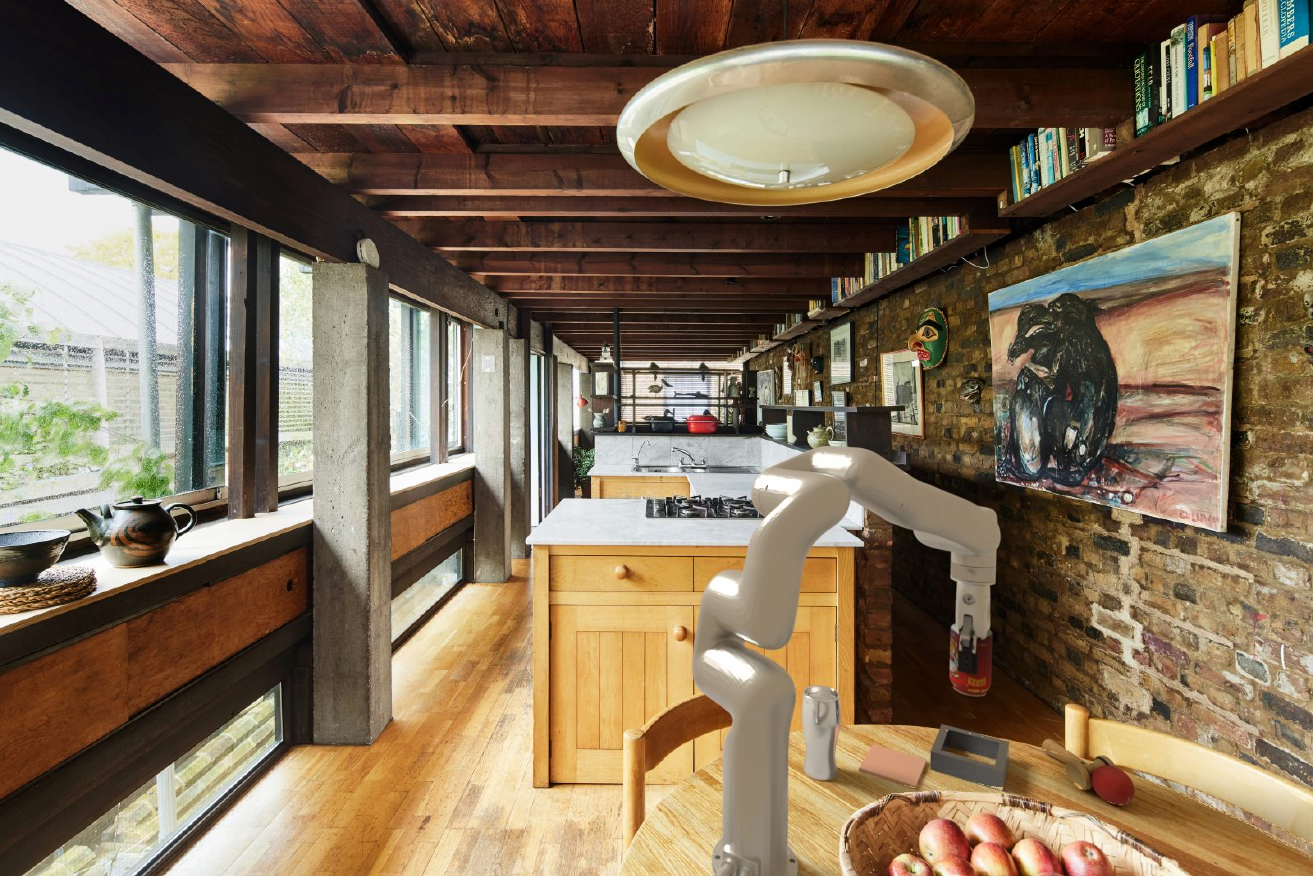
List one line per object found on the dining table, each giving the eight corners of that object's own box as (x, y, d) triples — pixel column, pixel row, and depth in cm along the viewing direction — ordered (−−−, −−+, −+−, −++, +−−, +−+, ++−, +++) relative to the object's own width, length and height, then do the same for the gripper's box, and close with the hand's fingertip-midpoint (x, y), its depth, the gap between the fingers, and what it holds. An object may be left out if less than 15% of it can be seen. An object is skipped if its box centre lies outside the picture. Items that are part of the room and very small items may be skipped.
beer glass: (844, 782, 112) (845, 702, 111) (805, 782, 112) (806, 701, 111) (834, 760, 119) (835, 684, 118) (797, 760, 119) (798, 684, 118)
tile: (915, 789, 110) (915, 786, 110) (858, 771, 115) (859, 768, 115) (926, 762, 118) (926, 759, 118) (873, 746, 124) (873, 743, 124)
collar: (1003, 791, 109) (1003, 772, 109) (930, 769, 116) (930, 751, 116) (1008, 759, 119) (1009, 741, 119) (941, 740, 126) (941, 724, 126)
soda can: (941, 681, 120) (943, 619, 119) (977, 681, 120) (979, 619, 120) (961, 698, 113) (963, 633, 112) (998, 698, 113) (1001, 632, 113)
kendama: (1027, 762, 121) (1104, 809, 103) (1030, 729, 121) (1107, 769, 103) (1063, 767, 121) (1146, 814, 103) (1066, 734, 122) (1149, 775, 104)
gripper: (990, 586, 106) (987, 687, 107) (1000, 565, 121) (997, 654, 122) (943, 579, 111) (940, 677, 111) (957, 560, 125) (955, 646, 126)
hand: (970, 664), depth 116 cm, fingers closed on soda can, 7 cm apart
